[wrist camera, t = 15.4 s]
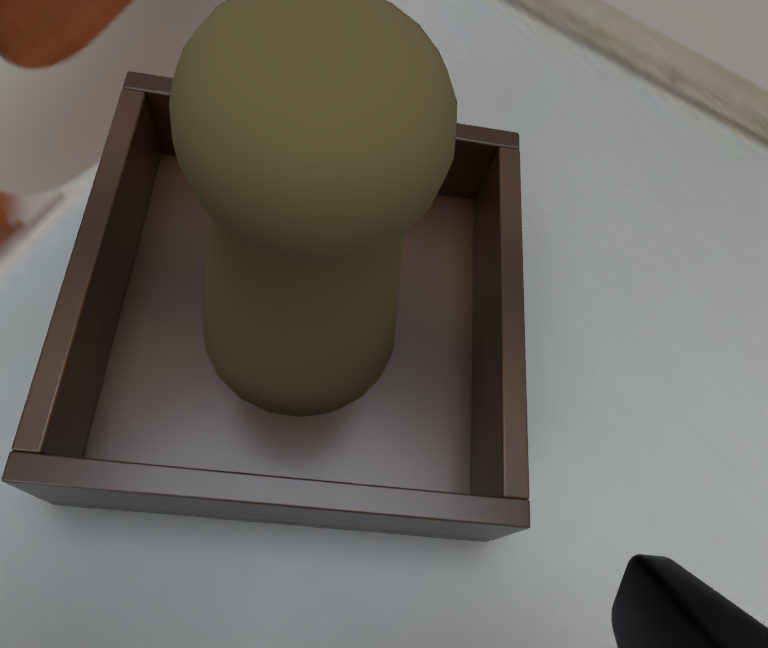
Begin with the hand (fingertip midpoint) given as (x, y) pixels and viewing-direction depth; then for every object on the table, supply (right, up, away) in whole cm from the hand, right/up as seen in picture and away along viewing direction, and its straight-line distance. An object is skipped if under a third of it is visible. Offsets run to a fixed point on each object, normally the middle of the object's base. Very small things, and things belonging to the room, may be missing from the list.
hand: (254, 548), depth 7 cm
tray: (-1, +2, +14) cm, 14 cm away
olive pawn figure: (-1, +2, +13) cm, 13 cm away
